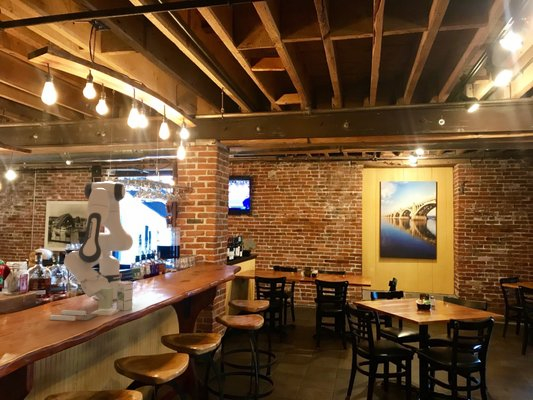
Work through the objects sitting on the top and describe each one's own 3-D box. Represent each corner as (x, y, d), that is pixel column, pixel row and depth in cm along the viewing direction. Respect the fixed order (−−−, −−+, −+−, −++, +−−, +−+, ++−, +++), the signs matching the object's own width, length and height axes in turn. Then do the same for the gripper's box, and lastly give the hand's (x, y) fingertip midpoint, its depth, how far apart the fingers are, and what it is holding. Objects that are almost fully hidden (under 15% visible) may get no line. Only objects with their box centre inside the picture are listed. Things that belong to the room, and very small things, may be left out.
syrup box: (132, 309, 210) (133, 281, 211) (123, 311, 205) (124, 283, 206) (125, 307, 213) (126, 280, 214) (116, 309, 208) (117, 281, 209)
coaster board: (100, 310, 206) (100, 308, 206) (119, 311, 205) (119, 309, 205) (91, 314, 196) (91, 312, 196) (110, 315, 195) (110, 313, 195)
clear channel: (63, 314, 196) (63, 310, 196) (98, 315, 195) (98, 311, 195) (50, 319, 185) (50, 315, 185) (87, 321, 184) (87, 316, 184)
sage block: (103, 306, 203) (103, 287, 204) (112, 307, 203) (113, 287, 203) (98, 308, 198) (99, 288, 199) (107, 309, 198) (108, 289, 198)
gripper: (83, 277, 191) (102, 298, 190) (102, 271, 212) (119, 290, 211) (73, 286, 191) (93, 307, 190) (93, 279, 211) (110, 298, 211)
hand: (107, 298), depth 201 cm, fingers closed on sage block, 5 cm apart
